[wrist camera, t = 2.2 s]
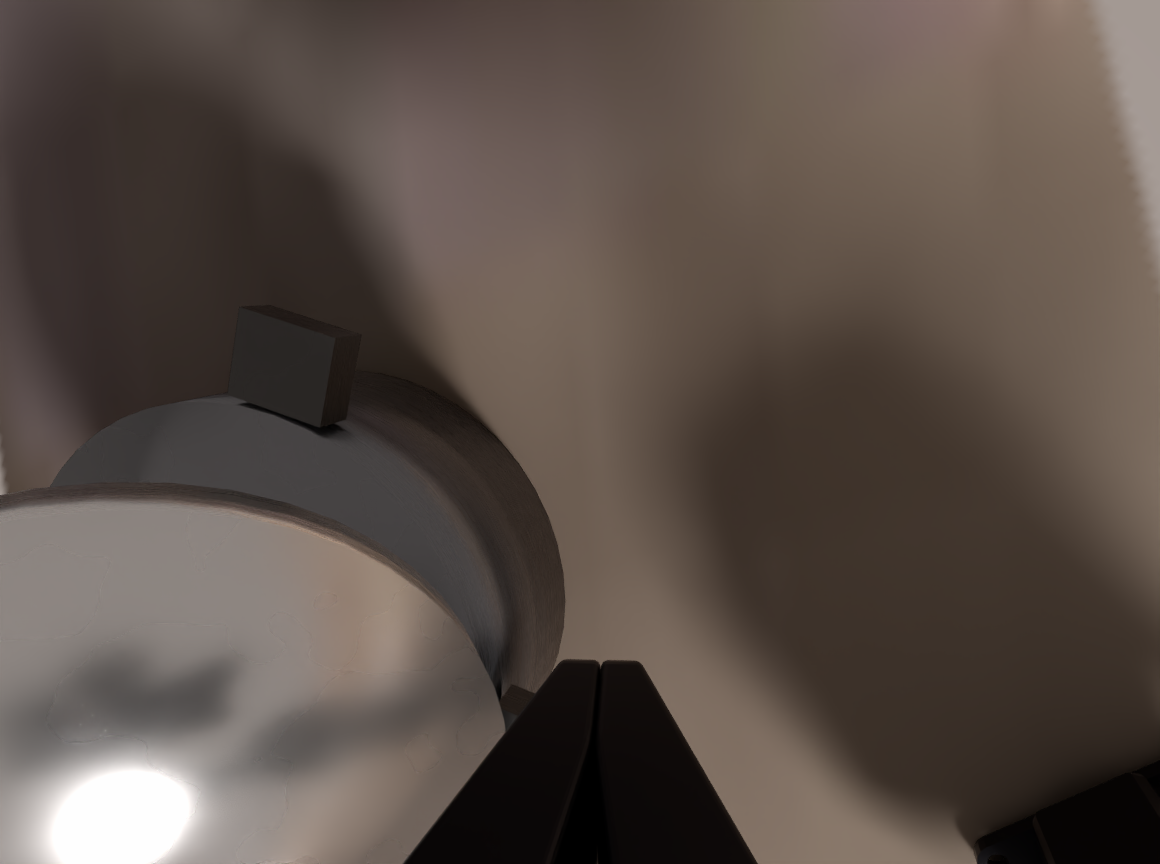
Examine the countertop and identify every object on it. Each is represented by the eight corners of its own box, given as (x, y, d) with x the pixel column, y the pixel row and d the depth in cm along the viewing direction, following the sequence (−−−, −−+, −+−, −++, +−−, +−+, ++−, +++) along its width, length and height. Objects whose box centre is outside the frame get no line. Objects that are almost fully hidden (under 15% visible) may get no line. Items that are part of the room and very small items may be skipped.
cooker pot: (671, 387, 20) (618, 430, 15) (522, 893, 25) (438, 1074, 19) (230, 251, 23) (46, 243, 18) (168, 725, 28) (6, 839, 22)
